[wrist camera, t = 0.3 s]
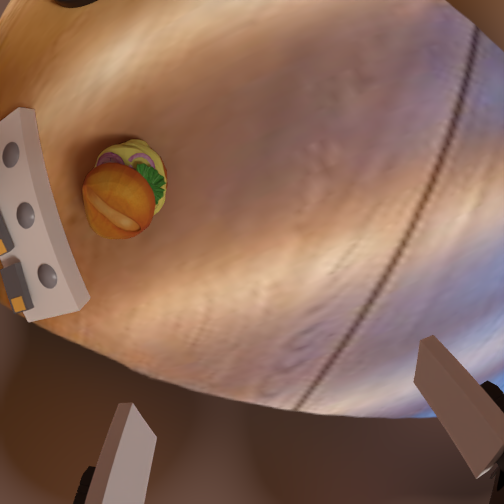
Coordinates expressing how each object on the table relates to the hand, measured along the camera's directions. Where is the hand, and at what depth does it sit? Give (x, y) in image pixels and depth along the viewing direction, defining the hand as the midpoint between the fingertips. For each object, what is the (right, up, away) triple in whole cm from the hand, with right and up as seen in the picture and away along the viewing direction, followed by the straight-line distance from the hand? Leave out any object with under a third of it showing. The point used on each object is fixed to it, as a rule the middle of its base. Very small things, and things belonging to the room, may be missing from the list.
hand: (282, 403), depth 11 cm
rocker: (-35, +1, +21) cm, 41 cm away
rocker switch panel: (-35, +12, +23) cm, 43 cm away
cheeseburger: (-16, +15, +23) cm, 32 cm away
